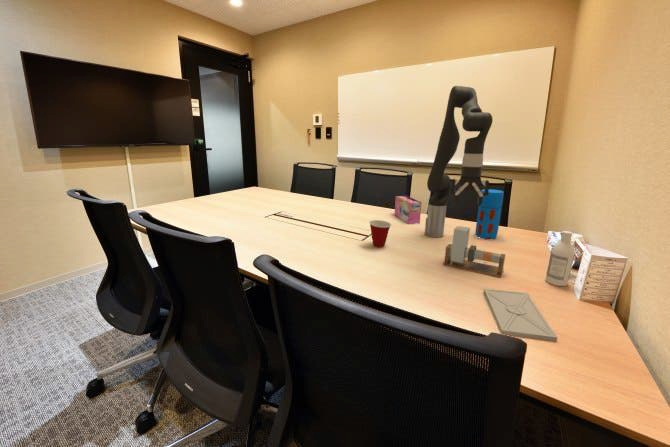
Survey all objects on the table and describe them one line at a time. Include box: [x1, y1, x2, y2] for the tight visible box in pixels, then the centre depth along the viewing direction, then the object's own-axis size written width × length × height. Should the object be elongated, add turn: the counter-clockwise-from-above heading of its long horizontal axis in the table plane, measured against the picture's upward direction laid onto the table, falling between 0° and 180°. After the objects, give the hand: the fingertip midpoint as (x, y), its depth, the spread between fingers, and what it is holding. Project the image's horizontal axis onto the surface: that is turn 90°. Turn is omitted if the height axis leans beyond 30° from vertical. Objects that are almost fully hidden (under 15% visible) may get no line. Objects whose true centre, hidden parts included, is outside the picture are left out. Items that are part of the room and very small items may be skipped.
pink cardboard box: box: [394, 194, 422, 225], centre depth 202 cm, size 24×8×14 cm, turn 13°
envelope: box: [482, 288, 558, 342], centre depth 97 cm, size 24×2×14 cm
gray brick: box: [466, 244, 477, 262], centre depth 129 cm, size 2×5×5 cm, turn 147°
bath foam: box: [545, 230, 575, 287], centre depth 115 cm, size 7×7×20 cm
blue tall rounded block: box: [474, 188, 505, 240], centre depth 165 cm, size 11×11×25 cm
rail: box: [442, 243, 506, 279], centre depth 129 cm, size 22×9×8 cm, turn 57°
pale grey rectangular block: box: [451, 225, 471, 263], centre depth 131 cm, size 5×6×14 cm
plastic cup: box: [368, 219, 392, 248], centre depth 154 cm, size 11×11×12 cm
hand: (467, 204), depth 129 cm, fingers open, 8 cm apart
